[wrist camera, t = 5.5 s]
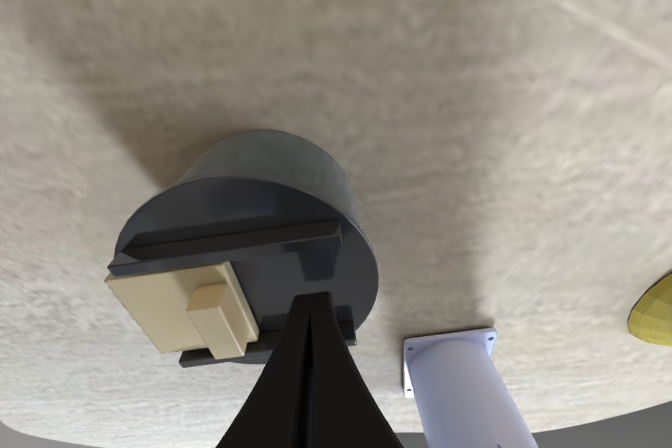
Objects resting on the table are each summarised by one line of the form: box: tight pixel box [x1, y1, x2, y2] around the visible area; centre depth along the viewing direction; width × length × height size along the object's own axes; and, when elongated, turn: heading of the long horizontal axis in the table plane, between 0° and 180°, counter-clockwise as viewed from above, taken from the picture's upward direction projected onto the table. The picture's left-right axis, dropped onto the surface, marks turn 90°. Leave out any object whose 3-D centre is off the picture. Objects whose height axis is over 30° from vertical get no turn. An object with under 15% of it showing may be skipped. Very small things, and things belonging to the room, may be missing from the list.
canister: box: [107, 130, 379, 368], centre depth 15 cm, size 11×11×8 cm
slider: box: [104, 261, 259, 359], centre depth 11 cm, size 4×5×2 cm
